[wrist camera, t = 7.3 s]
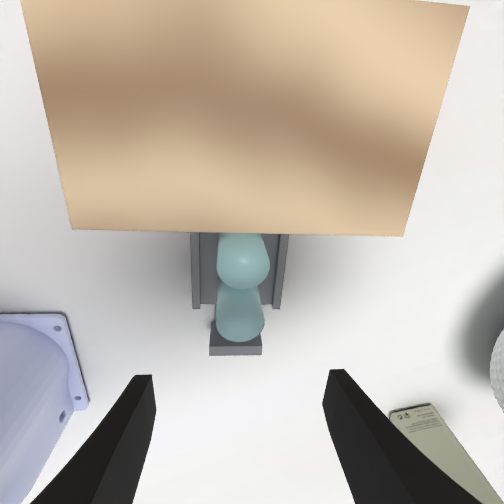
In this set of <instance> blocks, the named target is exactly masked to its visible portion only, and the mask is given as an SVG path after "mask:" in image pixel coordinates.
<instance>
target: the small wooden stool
mask: <svg viewBox="0 0 504 504" xmlns="http://www.w3.org/2000/svg"><path fill="white" fill-rule="evenodd" d="M20 2H21V6H22V11H23V15H24V19H25V24H26V28H27V33H28V37H29V42H30V46H31V50H32V55H33V59H34V64H35V68H36V73H37V77H38V81H39V86H40V90H41V95H42V99H43V103H44V108H45V112H46V117H47V121H48V126H49V130H50V134H51V139H52V143H53V148H54V152H55V157H56V161H57V165H58V170H59V174H60V179H61V183H62V187H63V192H64V196H65V201H66V205H67V210H68V214H69V218H70V223H71V227H72V229H79V230H126V231H173V232H220V233H267V234H314V235H361V236H403V234H404V230H405V227H406V223H407V220H408V217H409V213H410V210H411V206H412V203H413V200H414V196H415V193H416V189H417V186H418V182H419V179H420V176H421V172H422V169H423V165H424V162H425V159H426V155H427V152H428V148H429V145H430V142H431V138H432V135H433V131H434V128H435V124H436V121H437V118H438V114H439V111H440V107H441V104H442V101H443V97H444V94H445V90H446V87H447V83H448V80H449V77H450V73H451V70H452V66H453V63H454V60H455V56H456V53H457V49H458V46H459V42H460V39H461V36H462V32H463V29H464V25H465V22H466V19H467V15H468V12H469V8H470V6H464V5H454V4H445V3H436V2H426V1H417V0H20Z"/></svg>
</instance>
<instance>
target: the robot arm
mask: <svg viewBox="0 0 504 504" xmlns="http://www.w3.org/2000/svg"><path fill="white" fill-rule="evenodd" d="M58 326H60V327H61V328H59V327H58ZM88 405H89V401H88V398H87V394H86V390H85V387H84V383H83V379H82V376H81V372H80V369H79V365H78V361H77V358H76V354H75V350H74V347H73V343H72V339H71V336H70V332H69V328H68V325H67V321H66V318H65V317H64V316H63V315H61V314H0V504H21V502H22V501H23V500H24V499H25V497H26V496H27V495H28V493H29V492H30V490H31V489H32V487H33V485H34V483H35V482H36V480H37V478H38V476H39V474H40V472H41V470H42V469H43V467H44V465H45V463H46V461H47V459H48V458H49V456H50V454H51V452H52V450H53V448H54V447H55V445H56V443H57V441H58V439H59V437H60V436H61V434H62V432H63V430H64V428H65V426H66V425H67V423H68V421H69V419H70V417H71V415H72V413H73V412H74V411H75V410H85V409H86V408H87V407H88ZM322 405H323V409H324V413H325V417H326V421H327V425H328V429H329V432H330V435H331V438H332V441H333V444H334V446H335V449H336V452H337V455H338V457H339V460H340V463H341V466H342V468H343V471H344V474H345V477H346V479H347V482H348V485H349V487H350V490H351V493H352V496H353V499H354V502H355V504H483V503H481V502H480V501H479V500H478V499H476V498H475V497H474V496H473V495H471V494H470V493H469V492H468V491H466V490H465V489H464V488H463V487H461V486H460V485H459V484H458V483H456V482H455V481H454V480H453V479H452V478H450V477H449V476H448V475H447V474H446V473H444V472H443V471H442V470H441V469H440V468H439V467H438V466H437V465H435V464H434V463H433V462H432V461H431V460H430V459H429V458H428V457H427V456H425V455H424V454H423V453H422V452H421V451H420V450H419V449H418V448H417V447H416V446H415V445H414V444H413V443H412V442H411V441H410V440H409V439H408V438H407V437H406V436H405V435H404V434H403V433H402V432H401V431H400V430H399V429H398V428H397V427H396V426H395V425H394V424H393V423H392V422H391V421H390V420H389V419H388V418H387V417H386V416H385V415H384V414H383V412H382V411H381V410H380V409H379V408H378V407H377V406H376V405H375V404H374V403H373V402H372V400H371V399H370V398H369V397H368V396H367V395H366V394H365V393H364V391H363V390H362V389H361V388H360V387H359V386H358V384H357V383H356V382H355V381H354V380H353V379H352V378H351V376H350V375H349V374H348V373H347V372H346V371H345V370H344V369H331V370H330V371H329V376H328V380H327V385H326V389H325V394H324V398H323V403H322ZM155 415H156V404H155V397H154V389H153V381H152V375H135V376H134V377H133V378H132V379H131V381H130V382H129V384H128V385H127V387H126V388H125V390H124V391H123V393H122V394H121V396H120V397H119V398H118V400H117V401H116V403H115V404H114V405H113V407H112V408H111V409H110V411H109V412H108V413H107V415H106V416H105V417H104V419H103V420H102V421H101V423H100V424H99V425H98V427H97V428H96V429H95V430H94V432H93V433H92V434H91V435H90V437H89V438H88V439H87V440H86V442H85V443H84V444H83V445H82V446H81V448H80V449H79V450H78V451H77V452H76V454H75V455H74V456H73V457H72V458H71V460H70V461H69V462H68V463H67V464H66V465H65V466H64V468H63V469H62V470H61V471H60V472H59V473H58V474H57V475H56V477H55V478H54V479H53V480H52V481H51V482H50V483H49V484H48V485H47V486H46V487H45V489H44V490H43V491H42V492H41V493H40V494H39V495H38V496H37V497H36V498H35V499H34V500H33V501H32V502H31V503H30V504H132V503H133V499H134V496H135V492H136V489H137V486H138V482H139V479H140V475H141V472H142V469H143V465H144V462H145V458H146V455H147V451H148V448H149V444H150V441H151V436H152V431H153V426H154V420H155Z"/></svg>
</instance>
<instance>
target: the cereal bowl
mask: <svg viewBox="0 0 504 504" xmlns="http://www.w3.org/2000/svg"><path fill="white" fill-rule="evenodd" d="M490 380H491V383H492V384H491V387H492V389H493V391H494V395H495V398H496V399H497V401H498V404H499V406H500V407H501V408H502V410H503V413H504V329H503V331H502V332H501V333H500V335H499V337H498V338H497V341H496V343H495V346H494V348H493V352H492V354H491V361H490Z"/></svg>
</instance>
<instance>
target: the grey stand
mask: <svg viewBox="0 0 504 504" xmlns="http://www.w3.org/2000/svg"><path fill="white" fill-rule="evenodd" d="M288 238H289V234H267V233H220V232H190V239H191V273H192V307H193V309H200V306H201V304H215V322H211V333H210V345H209V356H226V355H261V354H262V341H261V335H260V332H261V331H262V329H263V327H264V315H263V310H262V305H261V304H272V308H273V309H280V303H281V295H282V287H283V279H284V271H285V262H286V254H287V246H288Z"/></svg>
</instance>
